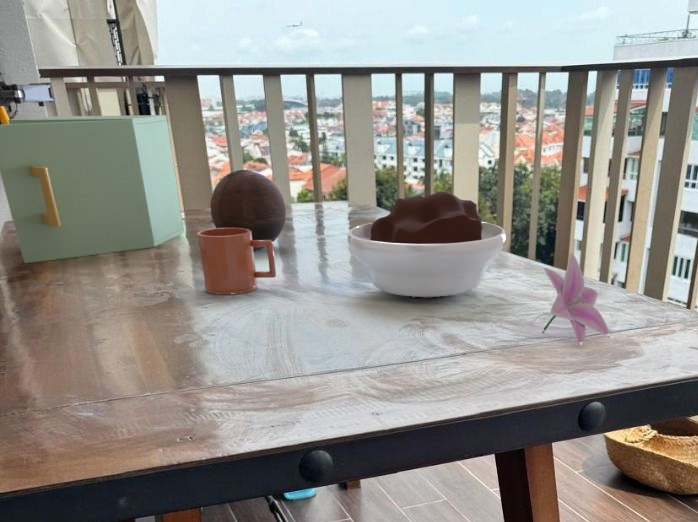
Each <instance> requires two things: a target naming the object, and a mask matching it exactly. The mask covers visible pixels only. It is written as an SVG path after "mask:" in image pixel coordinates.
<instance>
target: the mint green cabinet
mask: <svg viewBox="0 0 698 522" xmlns="http://www.w3.org/2000/svg"><path fill="white" fill-rule="evenodd" d="M0 178H1V182H2V185H3V188H4V193H5V196H6V201H7V204H8V208H9V212H10V215H11V220H12V223H13V228H14V230H15V235H16V238H17V242H18V246H19V249H20V253H21V257H22V261H23V263H24V264H32V263H40V262H47V261H48V262H49V261H56V260H57V261H58V260H65V259H72V258H81V257H87V256H96V255H104V254H112V253H118V252H127V251H135V250H142V249H150V248H155V247H154V243H153V238H152V232H151V226H150V221H149V215H148V209H147V204H146V198H145V192H144V187H143V181H142V175H141V170H140V164H139V158H138V153H137V147H136V142H135V136H134V130H133V125H132V120H109V121H82V122H55V123H28V124H9V123H5V124H0Z"/></svg>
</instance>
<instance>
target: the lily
mask: <svg viewBox="0 0 698 522" xmlns="http://www.w3.org/2000/svg"><path fill="white" fill-rule="evenodd" d="M543 270H544V272H545V274H546V276H547V277H548V280H550V282H551V284H552V286H553V287H554V289H555V292H556V293H557V296H556V297H555V300H554V302H553V303H552V305H551V308H550V313H551V314H552V317H551V318H550V319H549V321H548V322H547V323H546V325H545V326H544V328H543V329H544V330H545V331H546V330H547V329H548V328H549V326H550V325H551V323H552V322H553V321H554V319H555V318H557V317H558V318H561V319H565V320H568V321H570V323H571V326H572V329H573V331H574V334H575V338H576V339H577V343H578V344H579V343H580V342H583V341H584V342H585V338H586V331H587V330H586V329H587V328H590V329H591V330H593V331H596V332H597V333H600V334H601V335H603V336H605V335H606V334H608V333H610V330H609V327H608V326H607V323H606V321H605V320H604V317H603V316H602V314H601V313H600V311H599V310H598V309H597V308H596V306H595V304H596V302H597V299H598V295H599V294H598V292H597V290H595V289H593V288H591V287H588V286H585V278H584V274H583V271H582V269H581V266H580V264H579V261H578V259H577V257H576V256H575V254H574V253H573V252H570V254H569V257H568V262H567V266H566V271H565V272H564V273H565V274H564V278H563V276H562V275H560V274H559V273H557V272H556V271H554V270H552V269H550V268H547V267H544V268H543ZM586 327H587V328H586ZM545 331H544V332H542V333H543V334H544V333H545ZM610 337H611V335H610V336H608V337H607V338H610ZM582 347H583V345H582V346H579V348H580V349H581V348H582Z"/></svg>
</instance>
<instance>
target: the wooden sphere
mask: <svg viewBox="0 0 698 522" xmlns="http://www.w3.org/2000/svg"><path fill="white" fill-rule="evenodd" d="M211 197H212V198H211ZM211 197H210V201H211V207H210V215H211V219H212V222H213V224H214V227H215V228H245V229H249V230H251V233H252V240H271V241H272V242H273V243H274V242H275V241H276V240H277V239H278V238H279V236H280V235H281V233H282V231H283V229H284V227H285V223H286V219H287V218H286V217H287V215H286V214H287V210H286V209H287V208H286V203H285V200H284V197H283V194H282V192H281V191H280V189H279V187H278V186H277V184H276V183H275V182H274V181H273V180H272V179H271V178H269V177H268V176H266V175H265V174H263V173H262V172H259V171H257V170H256V171H255V170H252V169H238V170H235V171H232V172H229V173H228V174H226V175H225V176H224V177H222V178H221V179H220V180H219V181H218V182H217V184H216V186H215V187H214V189H213V192H212V194H211ZM260 249H261V250H262V249H265V247H253V251H258V250H260Z"/></svg>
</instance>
